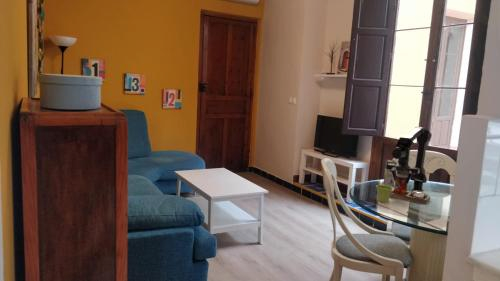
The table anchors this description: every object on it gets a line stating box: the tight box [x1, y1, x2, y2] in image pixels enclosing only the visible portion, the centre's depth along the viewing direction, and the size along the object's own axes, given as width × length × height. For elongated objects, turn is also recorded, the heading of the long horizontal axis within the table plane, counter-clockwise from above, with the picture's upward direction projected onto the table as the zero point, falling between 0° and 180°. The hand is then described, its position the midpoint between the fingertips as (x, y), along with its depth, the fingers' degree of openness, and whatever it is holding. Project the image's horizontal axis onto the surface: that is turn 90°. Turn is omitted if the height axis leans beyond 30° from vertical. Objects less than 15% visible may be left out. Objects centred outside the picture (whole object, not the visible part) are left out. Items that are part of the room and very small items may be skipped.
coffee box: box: [383, 159, 398, 186], centre depth 280 cm, size 9×6×16 cm
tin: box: [412, 190, 425, 199], centre depth 242 cm, size 6×6×5 cm
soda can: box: [393, 173, 408, 195], centre depth 247 cm, size 7×7×12 cm
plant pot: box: [375, 184, 394, 203], centre depth 235 cm, size 9×9×9 cm
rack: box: [390, 188, 431, 205], centre depth 245 cm, size 12×22×2 cm, turn 56°
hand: (401, 182), depth 247 cm, fingers closed on soda can, 7 cm apart
